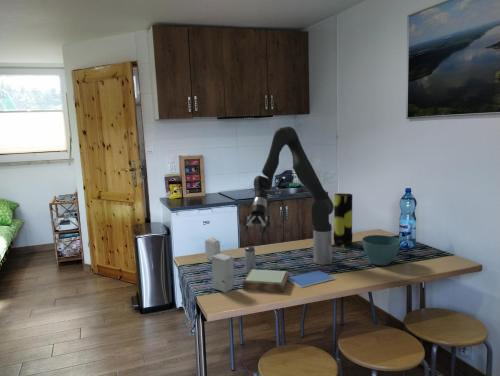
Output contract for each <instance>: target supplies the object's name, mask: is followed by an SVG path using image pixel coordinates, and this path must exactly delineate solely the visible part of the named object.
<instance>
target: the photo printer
mask: <svg viewBox="0 0 500 376" xmlns="http://www.w3.org/2000/svg"><path fill="white" fill-rule="evenodd" d="M204 246H205V247H204V248H205V258H206V259H207V260H209V261H211V262H212V256H214V255H217V254H221V241H220V240H219V239H217V238H216V237H214V236H208V237H206V238H205V240H204Z"/></svg>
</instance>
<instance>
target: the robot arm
mask: <svg viewBox="0 0 500 376" xmlns="http://www.w3.org/2000/svg"><path fill="white" fill-rule="evenodd" d="M301 143H302V142H301V141H300V138H299V136H298V133H297V131H296V130H295V128H293V127H291V126H285V127H283V126H282V127H279V128H277V129H276V130H275V132H274V134H273V137H272V141H271V146H270V149H269V153H268V156H267V158H266V161H265V163H264V166H263V167H262V170H261V173H262V175H263V176H262V175H256V176H255V177H254V179H253V188H254V198H253V202H252V206H251V207H252V208H251V213H250V215H246V214H245V215H244V218H243V222H242V225H243V227H244V228H245V229H244V232H245V234H247V235H248V234H249V231H250V228H251V227H252V226H253V225H261V226H262V233H261V234H262V235H263V236H265V234H267V233H266V232H267V228H268V229H269V228H271V221H272V219H271V215H268V216H266V212H267V211H266V210H267V206H268V205H267V203H268V195H269V194H268V191H270V190H272V188H273V182H274V176H275V173H276V171H277V170H278V167H279V163H280V154H281V151H282V150H283V148H284V146H286V145H287V147H288V148H289V150H290V153H291V155H292V166H293V171H294V174H295V175H296V177H297V178H298V181H299V182H300V183H301V184H302V186H303V187H305V189H306V190H308V192H309V193H310V194H311V196H312V199H313V200H314V202H313V203H312V205H311V224H312V227H313V228H312V229H313V233H312V234H313V236H312V240H313V242H312V243H313V247H312V249H313V250H312V251H313V258H312V260H313V263H314V264H316V265H320V266H321V265H323V266H325V265H332V261H333V260H332V259H333V257H332V256H333V252H332V251H333V247H332V245H333V243H332V240H333V239H332V237H333V236H332V231H333V230H332V229H333V227H332V226H333V225H332V224H331V223H330V215H331V214H332V213H334V204H333V203H334V202H333V201H332V200H331V198H330V196H329V194H328V193H327V191H326V190H325V189H324V187H323V185H322V183H321V180H320V179H319V177H318V175H317V173H316V171H315V170H314V167H313V166H312V164H311V162H310V160H309V158H308V156H307V155H306V152H305V150H304V148H303V146H302V144H301ZM265 221H266V222H267V223H265Z"/></svg>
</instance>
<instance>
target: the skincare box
mask: <svg viewBox="0 0 500 376" xmlns="http://www.w3.org/2000/svg"><path fill="white" fill-rule="evenodd" d="M211 288H212V289H214V290H218V291H220V292H223V293H226V292H229V291H231V290H233V289H234V257H233V256H230V255H228V254H223V253H220V254H217V255H214V256H212V261H211Z"/></svg>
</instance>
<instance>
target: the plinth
mask: <svg viewBox="0 0 500 376" xmlns="http://www.w3.org/2000/svg"><path fill="white" fill-rule="evenodd" d="M289 275H290V274H289V271H287V270H271V269H256V268H255V269H251V270H250V272H249V273H247V275H246V276H245V278H244V279H243V280H242V290H244V291H255V292H256V291H258V292H271V293H272V292H273V293H284V292H285V289H286V287H287V285H288V282H289V281H288V278H289Z"/></svg>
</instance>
